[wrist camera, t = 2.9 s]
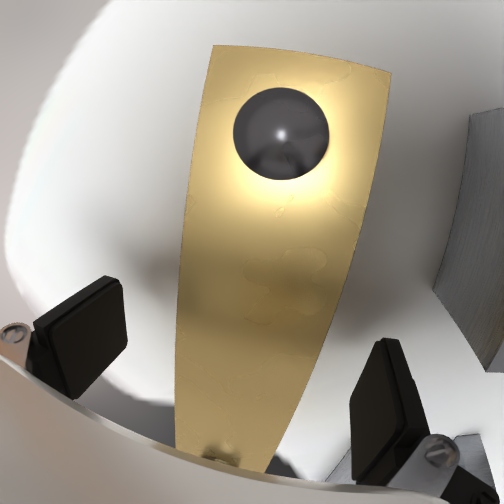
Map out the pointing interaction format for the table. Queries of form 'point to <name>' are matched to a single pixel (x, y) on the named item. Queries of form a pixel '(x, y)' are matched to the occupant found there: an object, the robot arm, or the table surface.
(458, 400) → the table surface
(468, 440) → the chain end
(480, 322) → the bracket
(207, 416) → the link bar
